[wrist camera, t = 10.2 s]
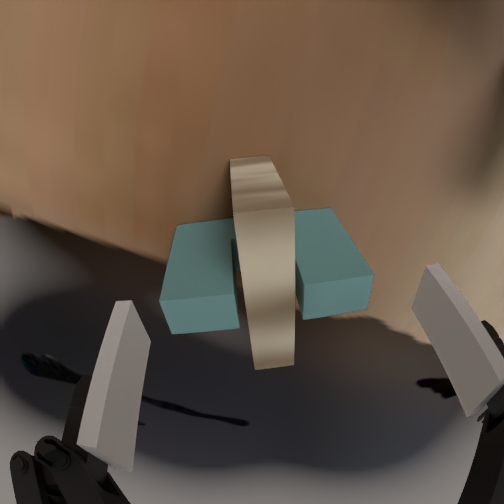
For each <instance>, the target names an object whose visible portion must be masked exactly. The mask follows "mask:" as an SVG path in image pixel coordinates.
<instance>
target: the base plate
mask: <svg viewBox="0 0 504 504" xmlns="http://www.w3.org/2000/svg"><path fill="white" fill-rule="evenodd" d="M294 217H295V293H296V297H297V300H298V304H299V307H300V311H301V314H302V317H303V320H306V319H312V318H319V317H325V316H331V315H337V314H343V313H349V312H354V311H360V310H365V309H367V307H368V302H369V298H370V293H371V288H372V283H373V278H374V273H373V272H372V270H371V269H370V267H369V265H368V264H367V262H366V261H365V259H364V257H363V256H362V254H361V253H360V251H359V250H358V248H357V247H356V245H355V243H354V242H353V240H352V239H351V237H350V236H349V234H348V233H347V231H346V230H345V228H344V227H343V225H342V224H341V222H340V221H339V219H338V218H337V217H336V215H335V214H334V212H333V211H332V209H331V208H323V209H312V210H302V211H294ZM240 270H241V269H240V262H239V254H238V247H237V240H236V232H235V225H234V218H229V219H221V220H213V221H205V222H197V223H190V224H182V225H177V228H176V232H175V236H174V239H173V243H172V247H171V252H170V256H169V260H168V264H167V269H166V273H165V277H164V282H163V286H162V291H161V295H160V300H159V302H160V305H161V307H162V310H163V313H164V315H165V318H166V320H167V323H168V325H169V328H170V330H171V333H172V334H182V333H194V332H206V331H216V330H227V329H236V328H240V325H239V312H238V299H237V284H236V271H240Z"/></svg>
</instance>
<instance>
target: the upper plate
mask: <svg viewBox="0 0 504 504" xmlns="http://www.w3.org/2000/svg"><path fill="white" fill-rule="evenodd" d="M230 173H231V189H232V205H233V217H234V225H235V232H236V240H237V247H238V254H239V262H240V269H241V276H242V283H243V290H244V297H245V304H246V312H247V319H248V326H249V332H250V339H251V346H252V353H253V360H254V366H255V370H258V369H267V368H275V367H281V366H289V365H294V341H295V217H294V205H293V203H292V201H291V199H290V197H289V195H288V193H287V191H286V189H285V187H284V185H283V183H282V181H281V179H280V177H279V175H278V173H277V171H276V169H275V167H274V165H273V163H272V161H271V159H270V157H269V155H267V156H257V157H247V158H238V159H230Z"/></svg>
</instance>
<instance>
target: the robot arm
mask: <svg viewBox="0 0 504 504" xmlns="http://www.w3.org/2000/svg"><path fill="white" fill-rule="evenodd" d="M412 309H413V311H414V313H415V315H416V316H417V318H418V320H419V322H420V323H421V325H422V327H423V329H424V331H425V332H426V334H427V336H428V338H429V340H430V342H431V344H432V345H433V347H434V349H435V351H436V353H437V355H438V357H439V359H440V361H441V363H442V365H443V367H444V369H445V371H446V373H447V375H448V377H449V379H450V381H451V383H452V385H453V387H454V390H455V392H456V394H457V396H458V398H459V400H460V403H461V405H462V407H463V409H464V412H465V414H466V416H467V417H468V416H470V415H472V414H474V413H476V412H477V411H479V410H481V409H482V408H483V407H484V405H486V404H487V406H488V409H486V410H485V411H484V412H483V413H482V414H481V415H480V416H479V417H478V420H477V421H478V422H479V421H480V420H481V419H482V418H483V417H484V416H485V417H484V420H483V421H482V423H483V426H482V431H481V434H480V438H479V442H478V446H477V449H476V453H475V457H474V459H473V463H472V466H471V469H470V472H469V475H468V478H467V481H466V483H465V486H464V489H463V492H462V494H461V497H460V499H459V502H458V504H504V343H503V341H502V340H501V338H499V335H498V334H497V332H496V330H495V329H494V327H493V326H491V325H490V324H489V323H488V322H487V321H485V320H484V321H480V320H479V318H478V317H477V315H476V314H475V312H474V311H473V310H472V308H471V307H470V305H469V304H468V302H467V301H466V300H465V298H464V297H463V295H462V294H461V293H460V291H459V290H458V289H457V287H456V286H455V285H454V283H453V282H452V281H451V279H450V278H449V277H448V275H447V274H446V273H445V272H444V270H443V269H442V268H441V266H440V265H439V264H432V265H426V267H425V270H424V273H423V276H422V279H421V283H420V286H419V289H418V292H417V294H416V297H415V300H414V303H413V306H412ZM150 343H151V341H150V338H149V336H148V334H147V332H146V330H145V328H144V326H143V324H142V322H141V320H140V318H139V316H138V313H137V311H136V309H135V307H134V305H133V302H132V301H131V300H130V301H116V303H115V306H114V309H113V312H112V315H111V318H110V321H109V324H108V327H107V330H106V333H105V336H104V339H103V342H102V345H101V349H100V352H99V356H98V359H97V362H96V366H95V369H94V373H93V376H87V375H83V376H82V377H81V378H80V380H79V381H78V383H77V384H76V386H75V389H74V393H73V399H72V401H71V404H70V409H69V412H68V416H67V420H66V424H65V428H64V433H63V437H62V441H60V440H59V439H57V438H55V437H54V436H45V437H42V438H41V439H40V440H39V441H38V442H37V444H36V446H35V452H34V454H35V455H34V456H32V455H30V454H28V453H27V452H25V451H18V452H16V453H14V455H13V456H12V458H11V461H10V471H11V477H12V483H13V488H14V493H15V498H16V502H17V504H130V502H129V501H128V500H127V498H126V497H125V495H124V494H123V493H122V491H121V490H120V488H119V487H118V485H117V484H116V483H115V481H114V480H113V478H112V477H111V475H110V474H109V473H108V472H107V468H108V465H109V466H110V467H112V468H114V469H118V470H125V471H133V460H134V450H135V441H136V432H137V425H138V417H139V409H140V403H141V396H142V389H143V383H144V376H145V371H146V365H147V359H148V354H149V348H150Z"/></svg>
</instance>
